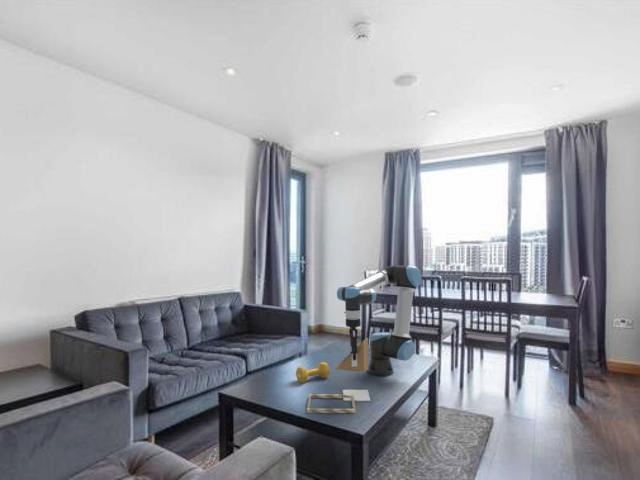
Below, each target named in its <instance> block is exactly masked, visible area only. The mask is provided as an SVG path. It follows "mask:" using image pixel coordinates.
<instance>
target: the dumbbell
mask: <svg viewBox="0 0 640 480" xmlns="http://www.w3.org/2000/svg"><path fill="white" fill-rule="evenodd" d="M317 375H318V376H319V377H320V378H322V379H327V378H328V377H329V375H330V366H329V364H328V363H326V362H325V361H321V362H319V363H318V365H317V368H311V369H308V370H307V368H306V367H305V366H298V367H297V368H296V371H295V376H296V380H297V381H298V383H301V384H305V383H307V381H308V378H309V377H313V376H317Z"/></svg>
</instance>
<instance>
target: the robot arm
mask: <svg viewBox="0 0 640 480" xmlns="http://www.w3.org/2000/svg"><path fill="white" fill-rule="evenodd" d="M421 284H422V273H421V271H420V269H419V268H418V267H417V266H415V265H414V266H413V265H397V264H396V265H394V264H393V265H390V266H386V267H384V268H382V269H381V268H380V269H379V270H378V271H376V272H375V274H373V275H371V276H368V277H366V278H364V279H362V280H359V281H357V282H356V283H353V284H351V285H349V286H340V287H338V288H337V290H336V291H337V292H336V297H337V300H339V301H341V302H342V301H343V302H344V303H345V304H344V305H345V306H344V307H345V311H344V312H343V313H344V314H345V326H346V327H348V328H349V331H348V332H349V337H350V338H349V339H350V343H349V344H350V345H349V346H350V351H349V354H350V353H351V354H352V367H354V366H357V346H358V329H357V328H359V327H361V325H362V323H361V322H362V321H361V317H362V313H361V306H362V305H367V304H369V305H370V304H372V303H374V302H375V301H376V300H377V293H376V290H375V289H376V288H379V287H382V286H387V285H395V288H396V289H397V291H398V292H397V298H396V300H397V301H396V307H395V308H396V309H395V318H394V327H393V331H392V332H391V333H390V332H389V331H387V332H386V331H385V332H383V331H382V332H374V333H372V334H371V335H370V340H369V341H370V343H369V344H370V360H369V361H368V368H367V372H368V373H369V374H370V375H373V376H379V377H387V376H391V375H392V374H393V373H394V366H393V364H392V360H391V358H392V359H395V360H398V361H404V362H407V361H409V360H410V359H411V358H412V357H413V356H414V353H415V343H414V341H412V336H411V335H410V328H411V327H410V326H411V317H412V308H413V299H414V298H413V297H414V292H415V291H416V290H417V287H419V286H420V285H421ZM353 350H356V351H353Z"/></svg>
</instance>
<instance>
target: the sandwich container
mask: <svg viewBox="0 0 640 480" xmlns="http://www.w3.org/2000/svg"><path fill="white" fill-rule="evenodd" d="M353 351H356V350H353ZM368 365H369V337H366V338H364V339H363V341H361V342H360V343H359V344H357V366H354V367H352V354H351V353H350V352H349V354H348V355H347V356H346V357H345V358H344V359H342V361H341V362H340V363H339V364H338V365H337V366H336V367H335V369H334V370H341V371H349V372H356V373H365V372H366V371H368Z"/></svg>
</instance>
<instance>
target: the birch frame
mask: <svg viewBox="0 0 640 480" xmlns="http://www.w3.org/2000/svg"><path fill="white" fill-rule="evenodd" d="M343 397H351V398H352V401H351V405H352V407H351V408H311V401H312V399H343ZM355 404H356V403H355V401H354V396H353V395H343V393H342V394H336V393H335V394H334V393H333V394H331V393H330V394H325V393H324V394H323V393H320V394H318V393H317V394H316V393H312V394H311V393H309V395H308V401H307V406H306V413H311V414H313V413H315V414H356V413H357V411H356V405H355Z"/></svg>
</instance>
